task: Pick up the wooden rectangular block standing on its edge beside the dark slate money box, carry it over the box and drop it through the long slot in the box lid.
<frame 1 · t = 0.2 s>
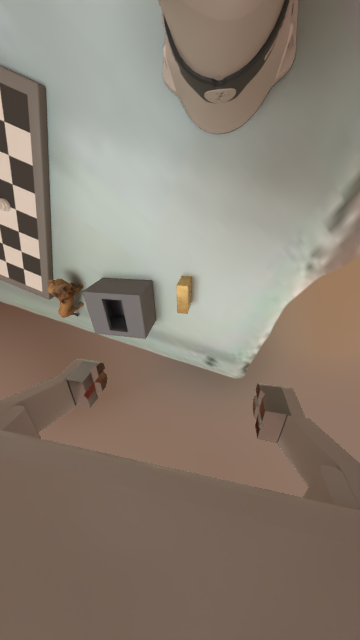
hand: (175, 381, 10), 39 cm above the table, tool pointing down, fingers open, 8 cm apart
money box: (130, 299, 54), on the table
lion figurine: (76, 292, 57), on the table
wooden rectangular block: (186, 289, 50), on the table
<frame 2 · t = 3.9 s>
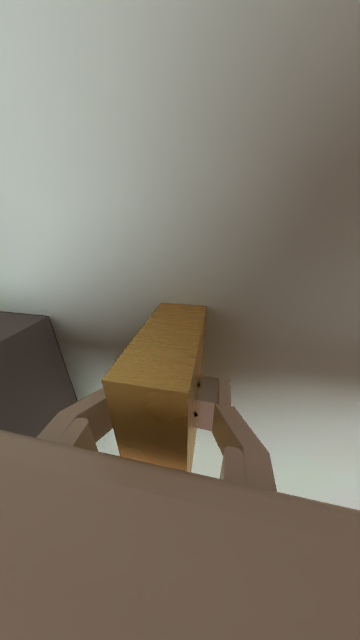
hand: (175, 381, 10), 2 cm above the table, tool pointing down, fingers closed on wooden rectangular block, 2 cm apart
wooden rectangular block: (182, 356, 12), on the table, touching gripper
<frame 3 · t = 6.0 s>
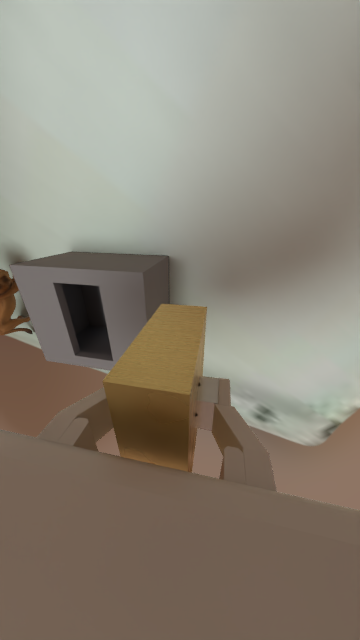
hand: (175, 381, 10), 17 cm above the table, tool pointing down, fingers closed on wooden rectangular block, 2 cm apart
money box: (123, 296, 29), on the table
lion figurine: (25, 292, 32), on the table
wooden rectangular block: (183, 357, 12), point 15 cm above the table, touching gripper
when the fingers open (13 cm above the table, at t = 8.1 s): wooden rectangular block drops 9 cm, resting on money box.
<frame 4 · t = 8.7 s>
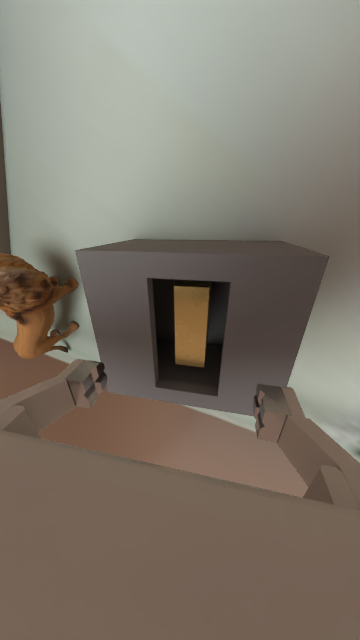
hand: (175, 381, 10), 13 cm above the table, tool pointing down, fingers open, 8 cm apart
money box: (200, 299, 21), on the table
lion figurine: (62, 300, 25), on the table
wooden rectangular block: (198, 302, 20), point 1 cm above the table, touching money box
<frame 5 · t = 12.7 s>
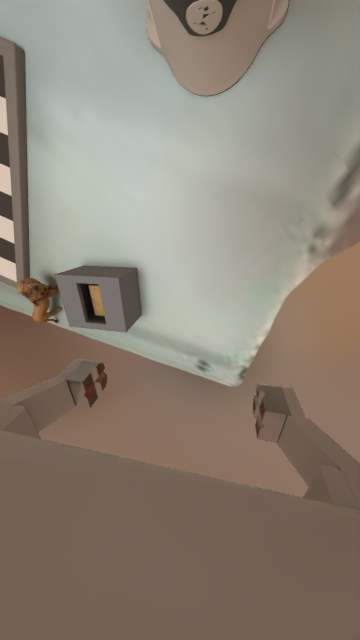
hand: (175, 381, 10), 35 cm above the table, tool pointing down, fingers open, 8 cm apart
money box: (112, 291, 49), on the table
lion figurine: (53, 296, 54), on the table
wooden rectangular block: (110, 292, 48), point 1 cm above the table, touching money box
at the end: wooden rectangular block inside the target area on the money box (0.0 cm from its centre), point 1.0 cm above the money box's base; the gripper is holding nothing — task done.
